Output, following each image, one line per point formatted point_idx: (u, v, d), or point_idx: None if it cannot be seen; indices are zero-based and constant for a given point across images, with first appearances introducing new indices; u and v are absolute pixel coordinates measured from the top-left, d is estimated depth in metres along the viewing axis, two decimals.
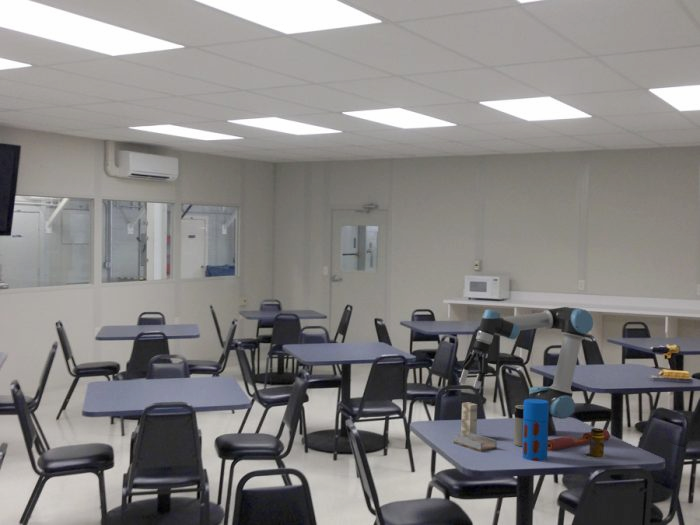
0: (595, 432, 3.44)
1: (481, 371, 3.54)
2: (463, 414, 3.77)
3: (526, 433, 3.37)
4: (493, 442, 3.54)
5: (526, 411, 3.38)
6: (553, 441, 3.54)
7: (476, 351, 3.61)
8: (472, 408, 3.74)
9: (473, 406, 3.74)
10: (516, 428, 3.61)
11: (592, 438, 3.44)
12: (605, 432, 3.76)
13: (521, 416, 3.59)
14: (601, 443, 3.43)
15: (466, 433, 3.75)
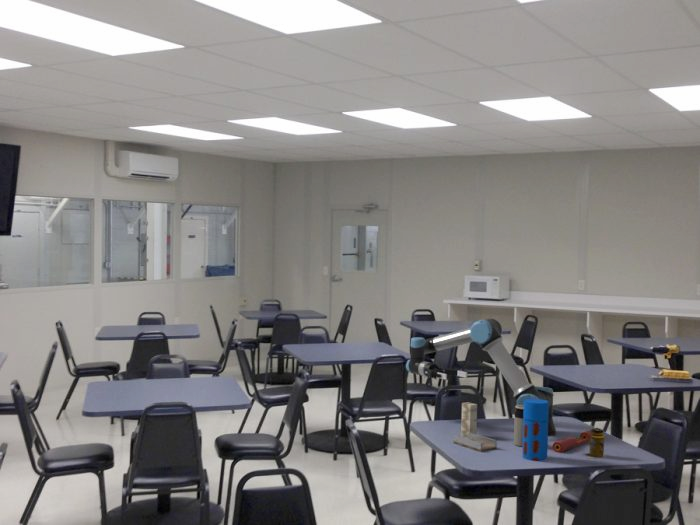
0: (595, 432, 3.44)
1: None
2: (463, 414, 3.77)
3: (526, 433, 3.37)
4: (493, 442, 3.54)
5: (526, 411, 3.38)
6: (561, 443, 3.51)
7: None
8: (472, 408, 3.74)
9: (473, 406, 3.74)
10: (516, 428, 3.61)
11: (592, 438, 3.44)
12: None
13: (521, 416, 3.59)
14: (601, 443, 3.43)
15: (466, 433, 3.75)
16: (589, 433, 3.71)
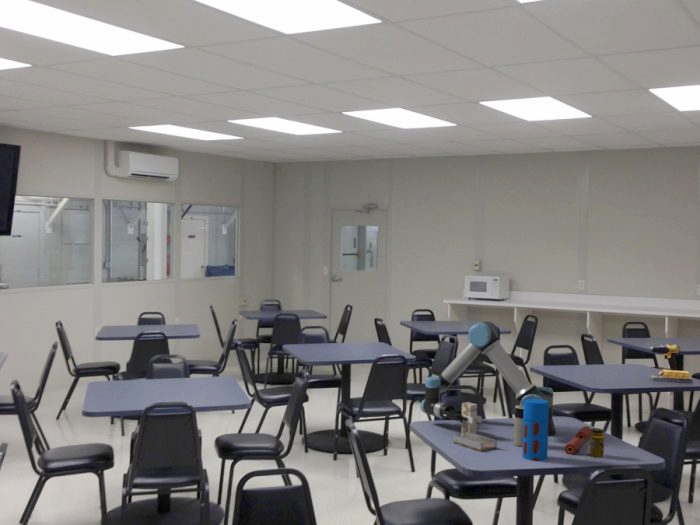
0: (595, 432, 3.44)
1: None
2: (463, 414, 3.77)
3: (526, 433, 3.37)
4: (493, 442, 3.54)
5: (526, 411, 3.38)
6: (574, 445, 3.48)
7: None
8: (472, 408, 3.74)
9: (473, 406, 3.74)
10: (516, 428, 3.61)
11: (592, 438, 3.44)
12: (589, 429, 3.82)
13: (521, 416, 3.59)
14: (601, 443, 3.43)
15: (466, 433, 3.75)
16: (585, 432, 3.73)
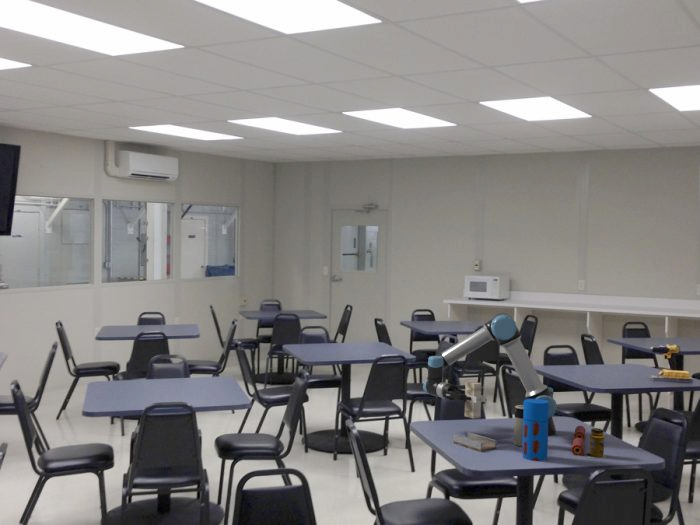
0: (595, 432, 3.44)
1: None
2: (466, 394, 3.61)
3: (526, 433, 3.37)
4: (493, 442, 3.54)
5: (526, 411, 3.38)
6: (580, 445, 3.47)
7: None
8: (476, 387, 3.58)
9: (477, 385, 3.58)
10: (516, 428, 3.61)
11: (592, 438, 3.44)
12: (584, 428, 3.83)
13: (521, 416, 3.59)
14: (601, 443, 3.43)
15: (470, 413, 3.59)
16: (582, 432, 3.74)
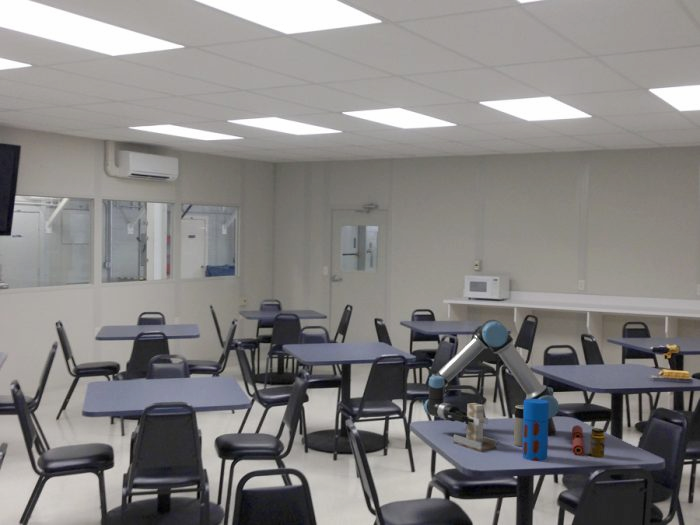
0: (596, 432, 3.44)
1: None
2: (468, 416, 3.58)
3: (526, 433, 3.37)
4: (493, 442, 3.54)
5: (526, 411, 3.38)
6: (581, 445, 3.47)
7: None
8: (478, 409, 3.55)
9: (479, 407, 3.56)
10: (516, 428, 3.61)
11: (593, 438, 3.44)
12: (581, 428, 3.83)
13: (521, 416, 3.59)
14: (602, 443, 3.43)
15: (472, 435, 3.56)
16: (580, 432, 3.74)
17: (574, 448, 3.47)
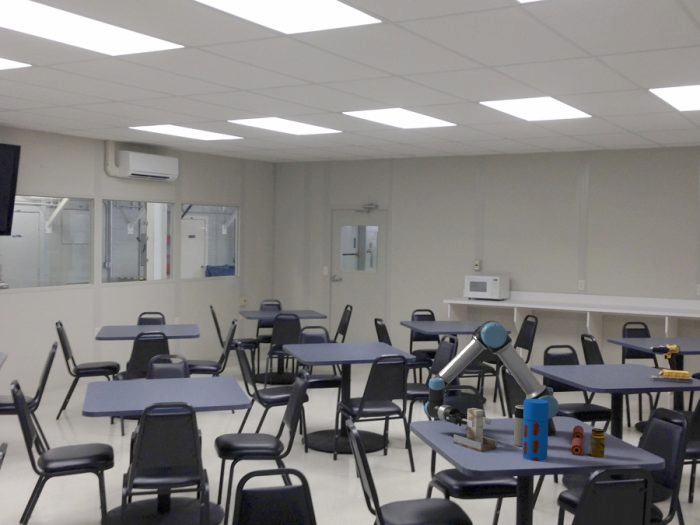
0: (596, 432, 3.44)
1: None
2: None
3: (526, 433, 3.37)
4: (493, 442, 3.54)
5: (526, 411, 3.38)
6: (580, 445, 3.47)
7: None
8: (478, 414, 3.55)
9: (479, 412, 3.56)
10: (516, 428, 3.61)
11: (593, 438, 3.44)
12: (582, 428, 3.83)
13: (521, 416, 3.59)
14: (602, 443, 3.43)
15: None
16: (581, 432, 3.74)
17: (572, 448, 3.47)
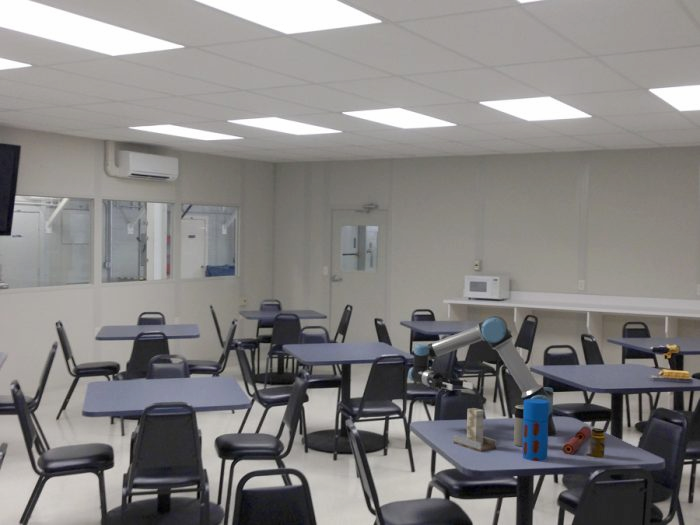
0: (596, 432, 3.44)
1: None
2: (468, 421, 3.58)
3: (526, 433, 3.37)
4: (493, 442, 3.54)
5: (526, 411, 3.38)
6: (572, 444, 3.48)
7: None
8: (478, 414, 3.55)
9: (479, 412, 3.56)
10: (516, 428, 3.61)
11: (593, 438, 3.44)
12: (588, 429, 3.82)
13: (521, 416, 3.59)
14: (602, 443, 3.43)
15: None
16: (584, 432, 3.73)
17: (564, 447, 3.49)
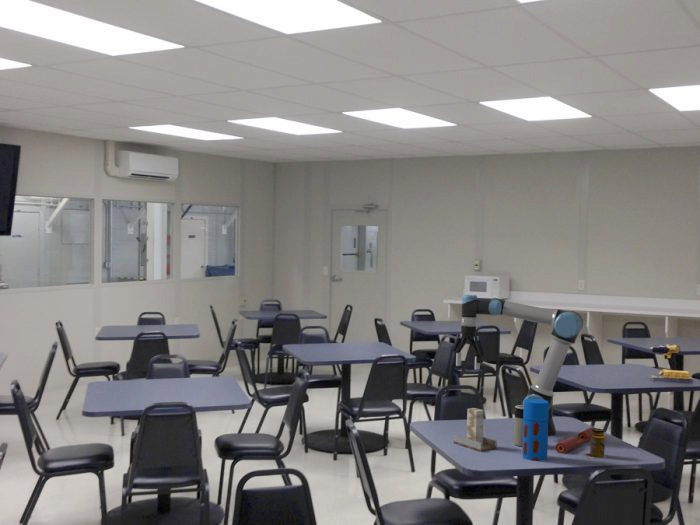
0: (596, 432, 3.44)
1: None
2: (468, 421, 3.58)
3: (526, 433, 3.37)
4: (493, 442, 3.54)
5: (526, 411, 3.38)
6: (564, 443, 3.50)
7: (465, 335, 3.90)
8: (478, 414, 3.55)
9: (479, 412, 3.56)
10: (516, 428, 3.61)
11: (593, 438, 3.44)
12: None
13: (521, 416, 3.59)
14: (602, 443, 3.43)
15: None
16: (587, 433, 3.72)
17: (557, 445, 3.51)
